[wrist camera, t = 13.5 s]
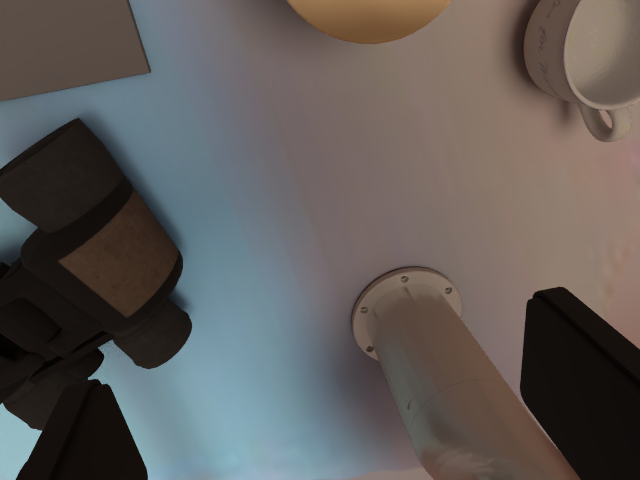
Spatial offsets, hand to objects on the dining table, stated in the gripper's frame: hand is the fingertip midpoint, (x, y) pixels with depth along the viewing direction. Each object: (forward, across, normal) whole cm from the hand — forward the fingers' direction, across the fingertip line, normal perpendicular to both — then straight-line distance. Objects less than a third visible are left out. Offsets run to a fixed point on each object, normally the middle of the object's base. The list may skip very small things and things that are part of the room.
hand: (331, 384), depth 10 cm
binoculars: (+34, +23, +12) cm, 43 cm away
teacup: (+34, -27, -1) cm, 44 cm away
